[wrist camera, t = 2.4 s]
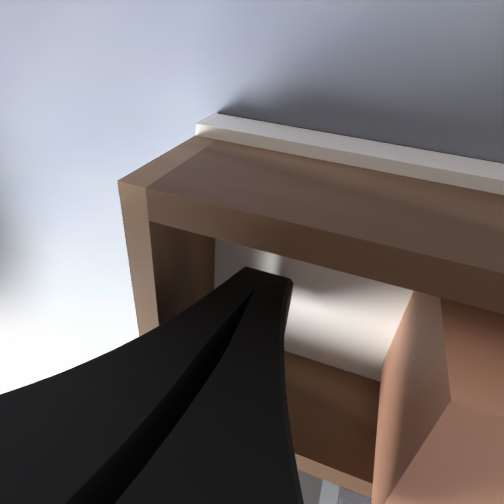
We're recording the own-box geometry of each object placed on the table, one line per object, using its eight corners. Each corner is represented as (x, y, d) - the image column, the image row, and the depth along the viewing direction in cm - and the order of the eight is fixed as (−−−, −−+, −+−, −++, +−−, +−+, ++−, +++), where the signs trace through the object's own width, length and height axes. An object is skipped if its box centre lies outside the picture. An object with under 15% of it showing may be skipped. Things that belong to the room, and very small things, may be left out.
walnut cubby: (531, 447, 11) (567, 577, 8) (198, 335, 14) (149, 409, 11) (733, 239, 7) (926, 374, 4) (195, 135, 9) (117, 180, 7)
